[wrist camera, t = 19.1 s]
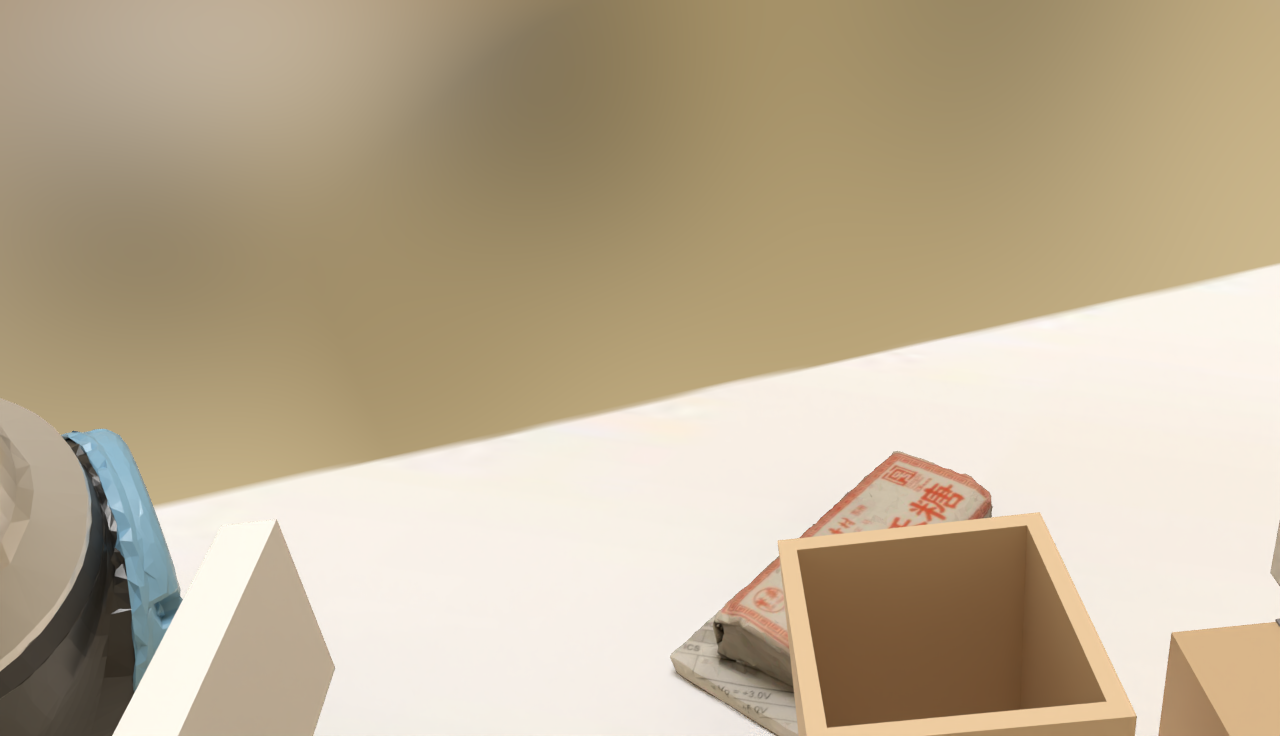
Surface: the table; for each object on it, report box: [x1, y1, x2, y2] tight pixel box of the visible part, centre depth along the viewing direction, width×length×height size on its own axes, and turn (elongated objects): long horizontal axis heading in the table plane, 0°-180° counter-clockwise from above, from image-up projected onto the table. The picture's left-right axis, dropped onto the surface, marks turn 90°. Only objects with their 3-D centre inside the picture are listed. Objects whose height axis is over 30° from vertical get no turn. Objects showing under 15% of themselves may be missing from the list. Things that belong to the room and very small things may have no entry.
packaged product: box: [670, 451, 992, 736], centre depth 57 cm, size 18×5×10 cm
